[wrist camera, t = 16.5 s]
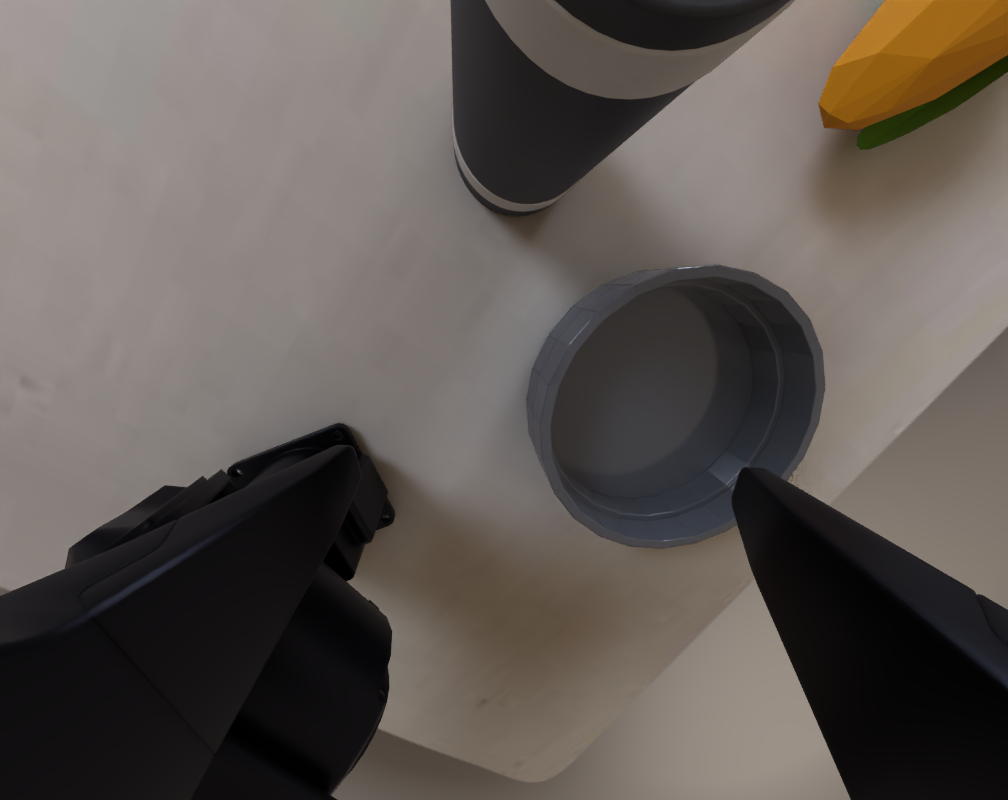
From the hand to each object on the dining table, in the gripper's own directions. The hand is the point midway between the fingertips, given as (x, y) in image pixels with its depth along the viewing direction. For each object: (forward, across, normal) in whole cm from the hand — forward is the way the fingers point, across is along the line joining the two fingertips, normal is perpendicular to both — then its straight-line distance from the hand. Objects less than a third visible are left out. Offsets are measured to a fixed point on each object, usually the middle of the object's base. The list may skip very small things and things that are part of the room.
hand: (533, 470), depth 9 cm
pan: (+13, -6, +5) cm, 15 cm away
